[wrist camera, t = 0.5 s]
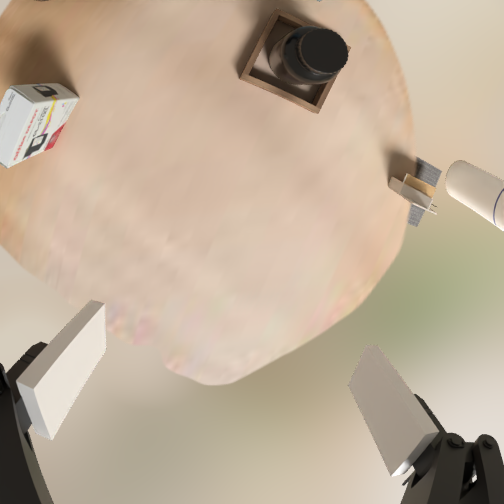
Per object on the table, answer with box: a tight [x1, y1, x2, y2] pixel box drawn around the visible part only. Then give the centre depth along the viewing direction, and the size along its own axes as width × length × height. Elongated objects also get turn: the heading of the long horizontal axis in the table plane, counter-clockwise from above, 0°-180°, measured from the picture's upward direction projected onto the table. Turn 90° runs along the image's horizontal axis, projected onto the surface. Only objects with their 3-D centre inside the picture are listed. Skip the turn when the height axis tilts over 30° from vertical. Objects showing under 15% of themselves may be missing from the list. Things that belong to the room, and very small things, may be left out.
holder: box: [240, 9, 351, 114], centre depth 31 cm, size 11×11×2 cm
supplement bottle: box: [269, 26, 348, 85], centre depth 27 cm, size 7×7×12 cm
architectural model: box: [388, 173, 437, 214], centre depth 40 cm, size 3×7×7 cm, turn 73°
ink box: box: [0, 83, 79, 168], centre depth 26 cm, size 9×5×12 cm, turn 139°
